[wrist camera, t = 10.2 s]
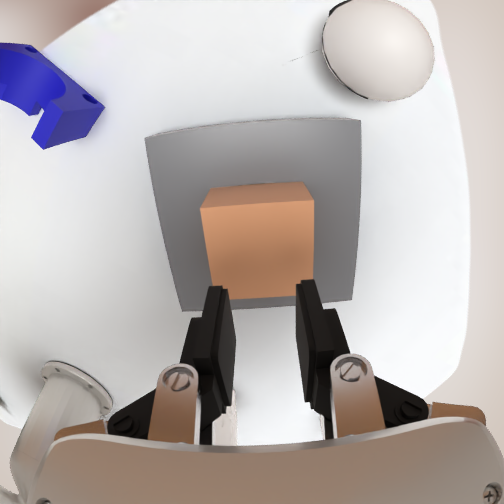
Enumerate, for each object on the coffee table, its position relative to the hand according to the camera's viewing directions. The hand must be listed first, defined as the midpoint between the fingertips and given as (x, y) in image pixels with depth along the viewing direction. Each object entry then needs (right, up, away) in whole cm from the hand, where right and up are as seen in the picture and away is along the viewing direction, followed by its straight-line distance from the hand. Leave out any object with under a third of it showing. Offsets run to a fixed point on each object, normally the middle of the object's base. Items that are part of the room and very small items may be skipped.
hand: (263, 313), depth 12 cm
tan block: (0, +6, +11) cm, 12 cm away
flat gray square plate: (0, +6, +11) cm, 12 cm away
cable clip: (-18, +16, +6) cm, 25 cm away
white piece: (+6, +17, +5) cm, 19 cm away
